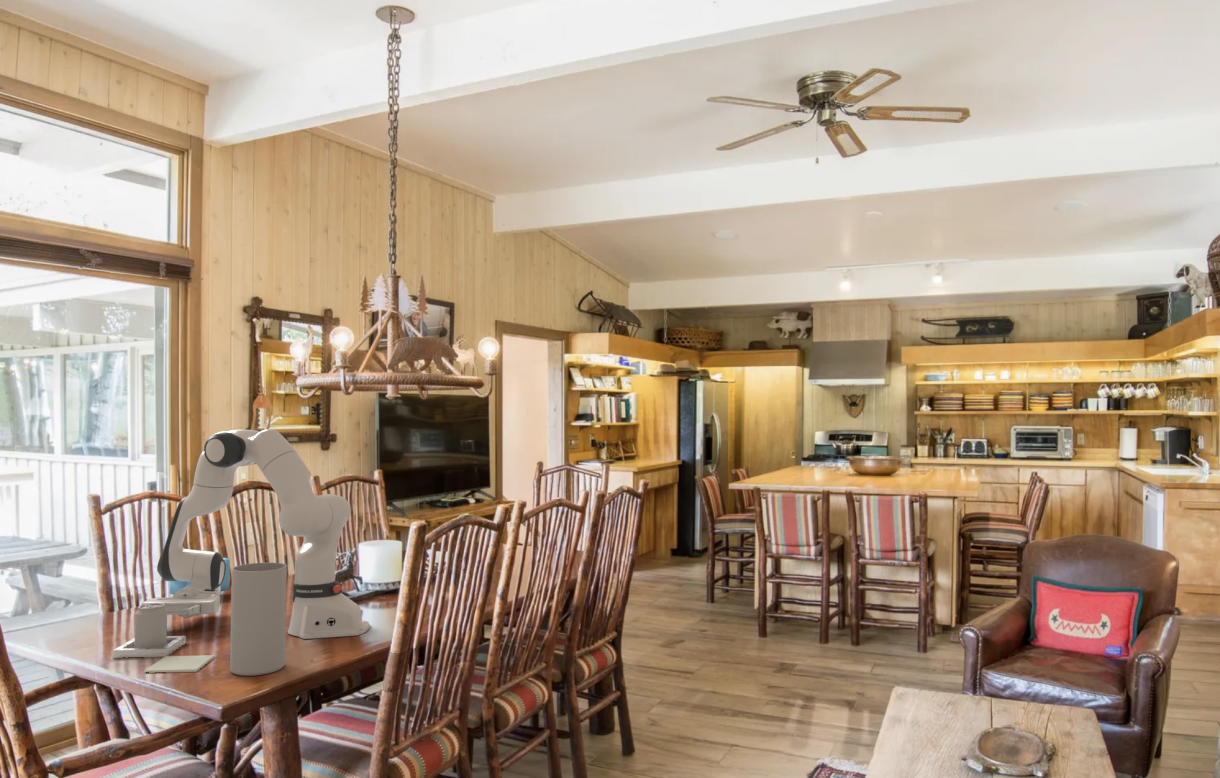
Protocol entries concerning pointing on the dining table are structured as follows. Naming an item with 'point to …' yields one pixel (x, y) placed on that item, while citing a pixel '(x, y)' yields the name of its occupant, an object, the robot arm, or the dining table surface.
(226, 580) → the teakettle
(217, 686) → the dining table surface
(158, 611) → the can
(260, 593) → the cylinder vase
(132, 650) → the square picture frame
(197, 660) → the tile
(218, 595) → the robot arm
